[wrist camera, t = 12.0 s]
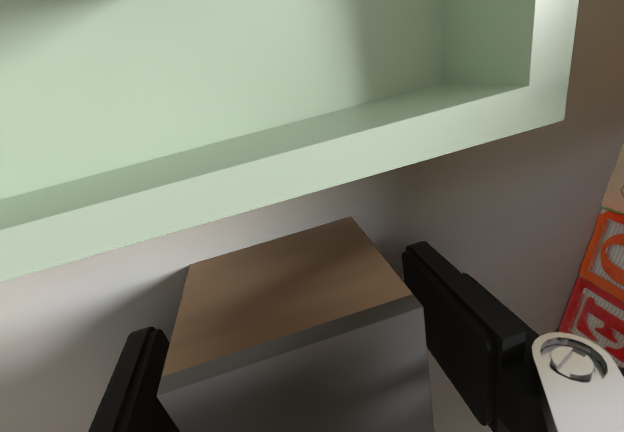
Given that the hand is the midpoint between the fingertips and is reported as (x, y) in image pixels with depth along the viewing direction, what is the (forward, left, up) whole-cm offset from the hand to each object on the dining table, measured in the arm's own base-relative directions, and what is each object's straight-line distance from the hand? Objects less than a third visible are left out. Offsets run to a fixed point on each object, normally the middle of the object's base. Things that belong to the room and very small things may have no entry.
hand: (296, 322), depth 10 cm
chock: (0, 0, -1) cm, 1 cm away
